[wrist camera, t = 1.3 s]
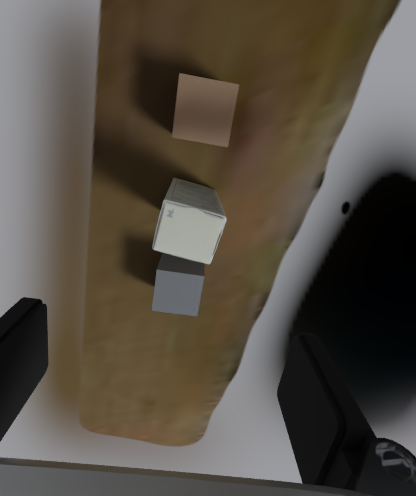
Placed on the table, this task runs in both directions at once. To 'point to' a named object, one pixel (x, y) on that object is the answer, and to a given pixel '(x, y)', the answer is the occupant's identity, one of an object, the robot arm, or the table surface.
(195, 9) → the table surface
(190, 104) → the tan cube
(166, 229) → the box
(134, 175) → the table surface
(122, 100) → the table surface
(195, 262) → the grey cube
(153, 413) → the table surface
